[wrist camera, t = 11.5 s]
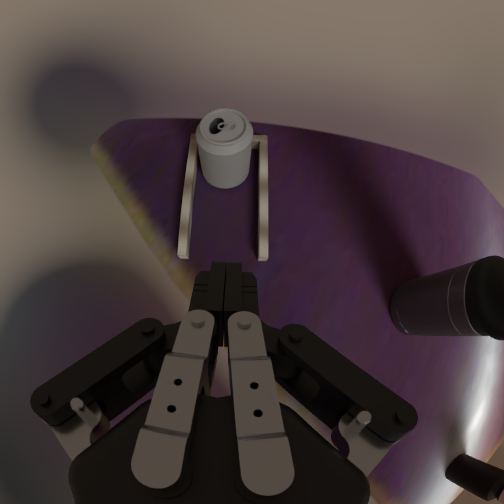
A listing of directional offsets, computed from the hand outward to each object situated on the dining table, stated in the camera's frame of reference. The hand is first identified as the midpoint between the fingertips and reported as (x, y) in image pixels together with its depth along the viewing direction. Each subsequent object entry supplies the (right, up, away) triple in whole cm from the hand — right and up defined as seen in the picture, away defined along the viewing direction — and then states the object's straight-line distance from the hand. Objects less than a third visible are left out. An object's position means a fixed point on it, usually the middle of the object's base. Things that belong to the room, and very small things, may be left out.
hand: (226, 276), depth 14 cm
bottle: (+46, -45, +19) cm, 67 cm away
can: (-3, +14, +30) cm, 33 cm away
